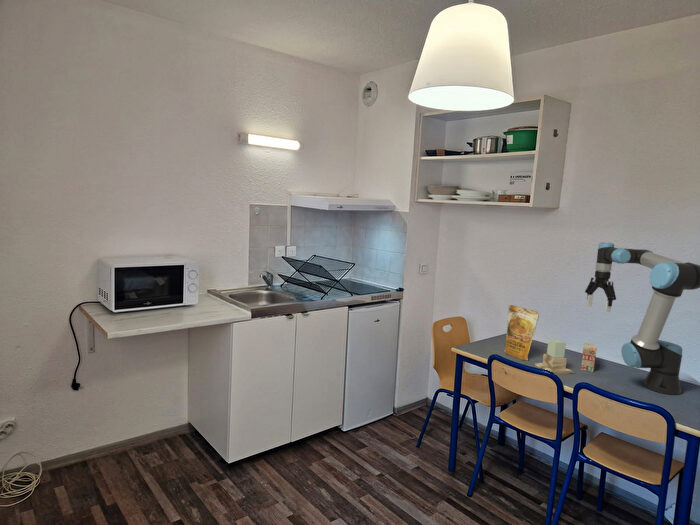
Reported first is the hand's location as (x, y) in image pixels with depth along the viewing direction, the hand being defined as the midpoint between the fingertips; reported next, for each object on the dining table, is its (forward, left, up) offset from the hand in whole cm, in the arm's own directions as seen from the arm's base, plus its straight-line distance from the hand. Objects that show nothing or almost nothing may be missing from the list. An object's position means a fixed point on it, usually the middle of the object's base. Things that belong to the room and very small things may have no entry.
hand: (598, 309), depth 263 cm
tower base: (-8, +30, -31) cm, 44 cm away
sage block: (-8, +30, -23) cm, 39 cm away
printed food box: (-4, +6, -31) cm, 32 cm away
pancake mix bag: (+14, +38, -31) cm, 51 cm away
